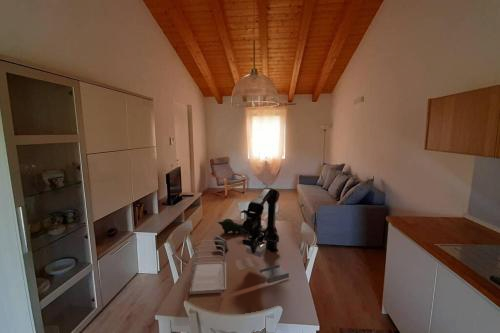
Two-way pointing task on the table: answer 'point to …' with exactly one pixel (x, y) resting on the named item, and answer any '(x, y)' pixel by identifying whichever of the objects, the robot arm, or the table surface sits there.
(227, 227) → the toy figurine
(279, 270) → the cabinet frame
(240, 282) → the table surface
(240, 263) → the stand
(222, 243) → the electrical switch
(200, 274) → the file sorter
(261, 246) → the grey drawer
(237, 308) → the table surface
